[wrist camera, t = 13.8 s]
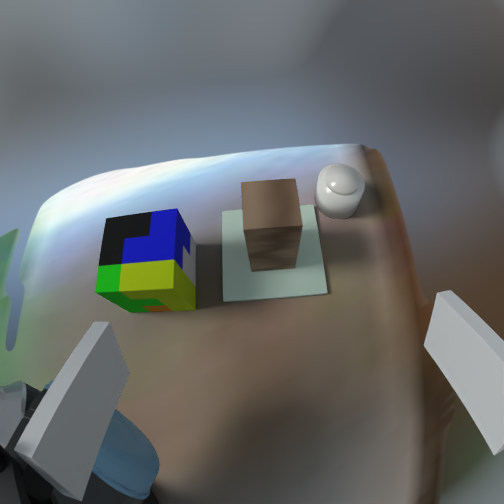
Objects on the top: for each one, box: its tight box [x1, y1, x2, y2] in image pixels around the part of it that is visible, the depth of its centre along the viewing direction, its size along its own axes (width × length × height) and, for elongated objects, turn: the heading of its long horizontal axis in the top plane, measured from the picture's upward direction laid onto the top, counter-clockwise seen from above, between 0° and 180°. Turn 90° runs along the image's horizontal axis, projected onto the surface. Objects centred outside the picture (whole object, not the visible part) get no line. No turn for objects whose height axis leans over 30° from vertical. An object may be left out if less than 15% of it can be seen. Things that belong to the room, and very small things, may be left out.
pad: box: [222, 205, 327, 302], centre depth 42 cm, size 14×14×1 cm
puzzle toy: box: [96, 209, 196, 313], centre depth 37 cm, size 10×10×10 cm
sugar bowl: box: [315, 164, 365, 219], centre depth 43 cm, size 7×7×6 cm
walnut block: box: [241, 179, 303, 272], centre depth 36 cm, size 6×6×12 cm
